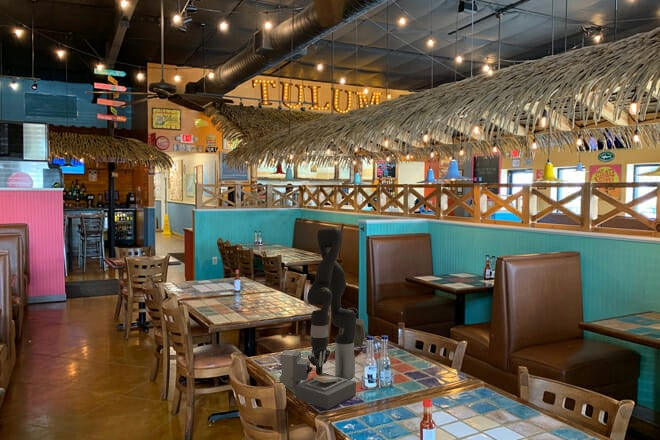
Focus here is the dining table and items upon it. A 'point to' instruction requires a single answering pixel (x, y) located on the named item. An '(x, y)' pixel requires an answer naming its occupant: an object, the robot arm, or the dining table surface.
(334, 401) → the box
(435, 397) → the dining table surface
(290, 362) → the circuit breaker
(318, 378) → the breaker rocker
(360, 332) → the tabletop clock
